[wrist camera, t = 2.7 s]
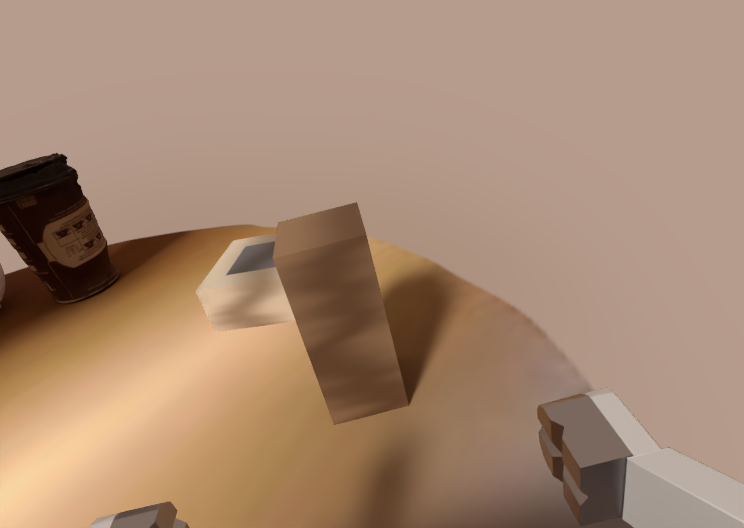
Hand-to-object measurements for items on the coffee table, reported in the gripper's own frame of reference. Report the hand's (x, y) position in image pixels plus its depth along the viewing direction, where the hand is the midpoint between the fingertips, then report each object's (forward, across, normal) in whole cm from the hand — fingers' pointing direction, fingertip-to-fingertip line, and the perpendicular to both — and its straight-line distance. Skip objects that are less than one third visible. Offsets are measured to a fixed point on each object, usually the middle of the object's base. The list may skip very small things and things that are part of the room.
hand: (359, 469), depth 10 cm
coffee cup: (+37, -27, -10) cm, 47 cm away
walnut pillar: (+12, -1, -9) cm, 16 cm away
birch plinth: (+25, -7, -10) cm, 28 cm away
